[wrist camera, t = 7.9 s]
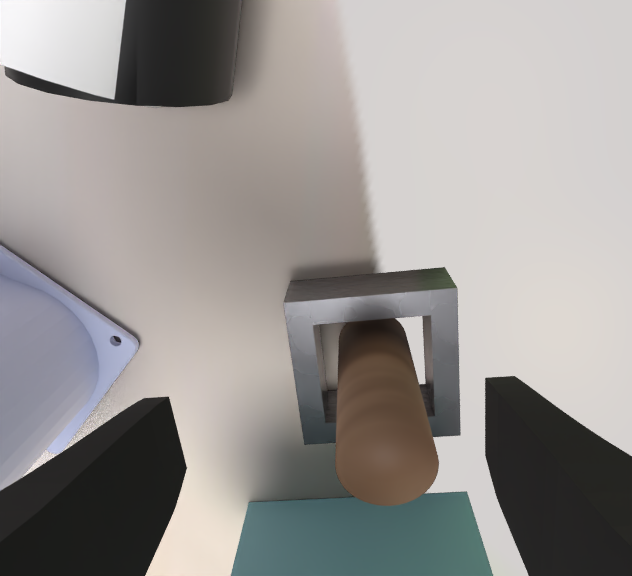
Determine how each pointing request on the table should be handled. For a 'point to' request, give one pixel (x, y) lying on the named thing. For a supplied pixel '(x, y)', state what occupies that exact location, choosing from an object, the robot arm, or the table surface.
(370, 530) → the teal block
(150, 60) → the security camera
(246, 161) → the table surface
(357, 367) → the walnut peg
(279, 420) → the table surface
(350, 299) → the gray socket
